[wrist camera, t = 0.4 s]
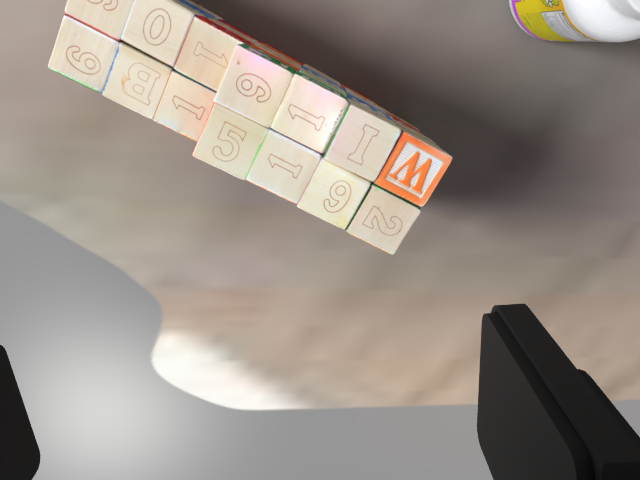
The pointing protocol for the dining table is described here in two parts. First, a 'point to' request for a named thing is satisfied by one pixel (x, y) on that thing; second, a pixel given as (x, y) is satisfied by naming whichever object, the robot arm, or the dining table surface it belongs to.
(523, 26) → the supplement bottle
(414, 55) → the dining table surface
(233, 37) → the stack of blocks
